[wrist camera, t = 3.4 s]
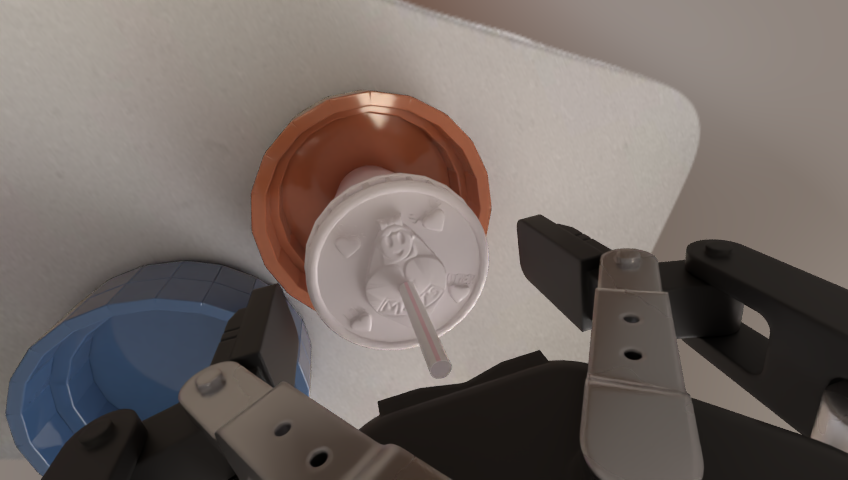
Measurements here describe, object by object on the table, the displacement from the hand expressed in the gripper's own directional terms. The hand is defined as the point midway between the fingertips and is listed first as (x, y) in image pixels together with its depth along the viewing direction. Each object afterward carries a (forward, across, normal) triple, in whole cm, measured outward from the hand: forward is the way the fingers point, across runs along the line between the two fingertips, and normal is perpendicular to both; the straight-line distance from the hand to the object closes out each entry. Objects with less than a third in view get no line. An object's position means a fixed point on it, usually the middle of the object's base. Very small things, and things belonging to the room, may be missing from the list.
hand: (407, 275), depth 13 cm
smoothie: (+10, 0, 0) cm, 10 cm away
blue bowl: (+10, +12, +7) cm, 17 cm away
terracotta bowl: (+10, 0, 0) cm, 10 cm away
